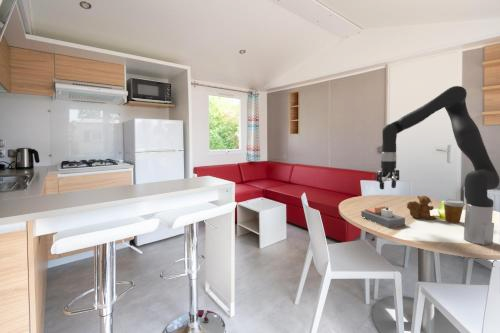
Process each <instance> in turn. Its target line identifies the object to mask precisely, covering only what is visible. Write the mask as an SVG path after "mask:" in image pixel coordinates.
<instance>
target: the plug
mask: <svg viewBox="0 0 500 333" xmlns="http://www.w3.org/2000/svg"><path fill="white" fill-rule="evenodd" d="M392 214H393V210H392V209H390V208H389V207H388V206H385V209H381V216H383V217H386V218H390V217H392Z"/></svg>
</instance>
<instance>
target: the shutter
mask: <svg viewBox="0 0 500 333" xmlns="http://www.w3.org/2000/svg"><path fill="white" fill-rule="evenodd" d="M381 209H386V206H376V207H372V208H370V207H369V208H365V209H364V210H366V211H369V212H372V213H375V214H376V213H381Z"/></svg>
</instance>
